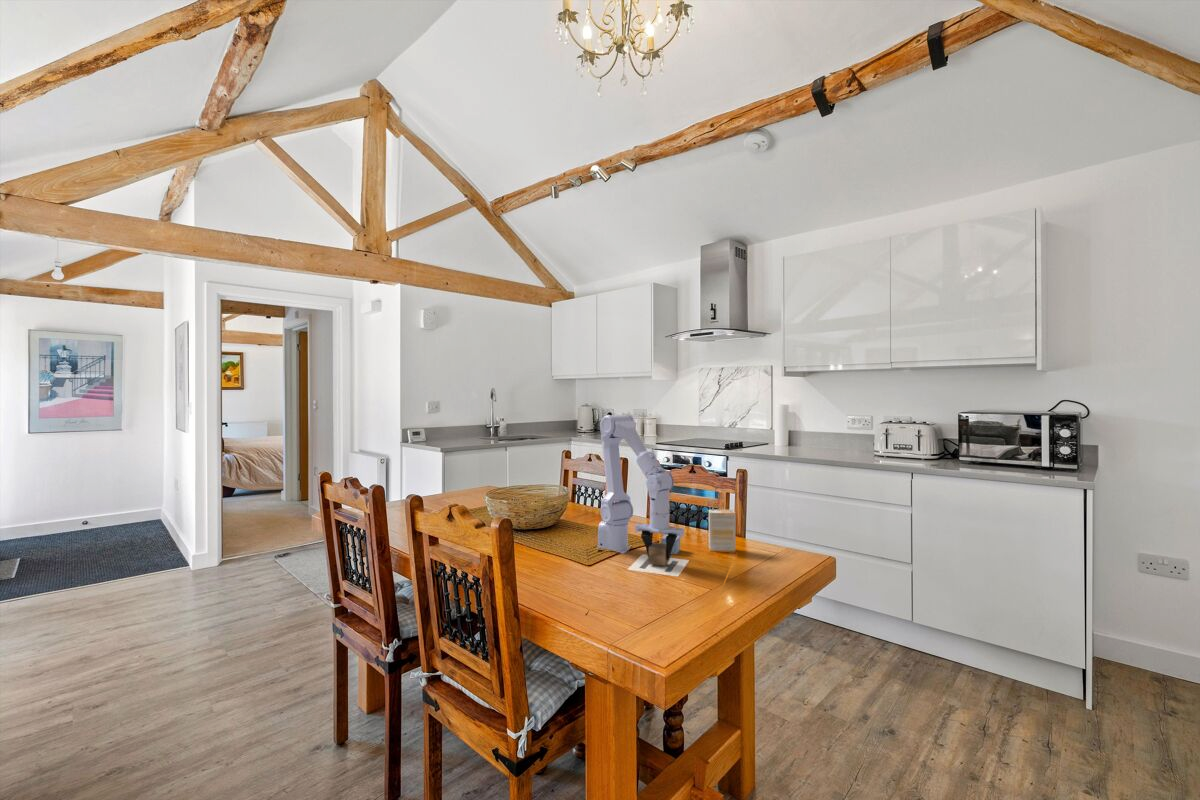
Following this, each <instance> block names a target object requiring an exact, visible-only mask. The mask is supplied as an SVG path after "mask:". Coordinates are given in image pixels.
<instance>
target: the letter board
mask: <svg viewBox="0 0 1200 800" xmlns="http://www.w3.org/2000/svg"><path fill="white" fill-rule="evenodd" d="M689 561H690V560H689V559H683V558H675V557H670V559H669V562H668V563H667V564H666V565H665V566H662V565H654V564H649V557H648V554H643V553H642V554H641V555H640V556H639V557H638V558H637V559H636V560H635V561H634V562H633V563H632V564H631V565H630V566H629V567H628V568H627V570H628V571H634V572H635V571H636V572H642V573H650V574H657V575H665V576H671V577H679V576H680V575H681V573H682V572H683V570H684V569H685V567H686V566H687V564H688V563H689Z"/></svg>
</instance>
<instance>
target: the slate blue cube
mask: <svg viewBox="0 0 1200 800" xmlns="http://www.w3.org/2000/svg"><path fill="white" fill-rule="evenodd" d="M667 536H668V535H667V534H663V536H662V537H661V538H660V543H663V544H666V537H667ZM680 551H681V537H679V536H677V538H676V540H675V542H674V545H673V548H672V551H671V555H677V554H679V552H680Z"/></svg>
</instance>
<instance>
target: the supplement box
mask: <svg viewBox="0 0 1200 800" xmlns="http://www.w3.org/2000/svg"><path fill="white" fill-rule="evenodd" d="M736 519H737V517H736V512H735V510H734V509H708V550H709V551H710V552H713V553H714V552H715V553H732V554H733V553H734V554H735V553H736V538H737V537H736Z"/></svg>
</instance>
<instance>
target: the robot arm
mask: <svg viewBox="0 0 1200 800" xmlns="http://www.w3.org/2000/svg"><path fill="white" fill-rule="evenodd" d="M599 427H600V437H601V438H600V439H601V446H602V456H603V464H604V465H603V466H604V473H605V474H604V475H605V484H606V494H605V495H604V497H603V498H602V499H601V502H600V504H601V505H600V506H601V507H600V517H601V519H602V520H601V521H600V522H599V524H598V529H597V549H598V548H604V549H609V550H614V551H620V553H619V554H626V553H627V552H628V551H629V550H630V549H631V548H630V547H629V548H628V545H629V543H628V541H629V536H628V535H629V534H628V533H629V523H630V519H631V518H632V517H633V516H634V507H633V505H632V502H631V496H630V495H628V494H627V493H626V492H625V491H624V484H623V483H624V482H623V474H622V464H621V454H620V445H619V444H620V443H621V442H622V440H625V442H626V443H627V445H628V446H629V447H630V449H631V450H632V451H633V453H634V454H635V456H636V464H637V465H638V467H639V468H640V470H641V472H642V473H643V475H644V477H645V479H646V481H645V485H646V489H647V491H648V496H649V524H648V523H636V524H635V525H634V530H635V532H636V533H637V532H641V534H640V538H641V539H642V541H643V544H644V546H645V549H646V553H647V554H646V555H648V557H649V546H650V545H651V544H652V543H653V537H654V534H659V535H665V534H667V535H668V536H667V537H666V547H667V551H666V560H669V559H670V558H671V557H672V556H671V555H672V554H671V551H672V548H673V545H674V542H675V540H676V538H677V536H679V537H680V538H683V537H684V535H685V528H682V527H676V526H671V525H670V490H672V488H673V487H674V484H675V480H674V476H673V474H672V473H671V471H669V470H666V469H665V468H663V467H662V466H661V463H660V462H659V461H658V459H657V456H656V454H655V453H654V452H652V451H650V450H649V451H648V450H647V448H646V446H645V445H644V443H643V439H641V437H640V435H639V433H638V431H637V430H636V429H637V422H636V421H635V420H634V417H633V416H632V415H631V414H628V413H627V414H616V415H615V414H612V415H609V414H607V415H606V414H605V415H604V416H603V418H602V419H601V421H600V422H599Z"/></svg>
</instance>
